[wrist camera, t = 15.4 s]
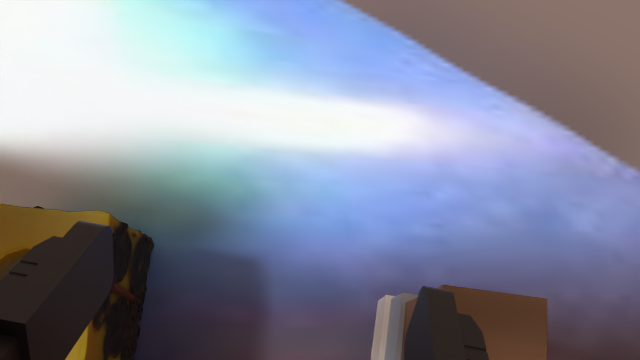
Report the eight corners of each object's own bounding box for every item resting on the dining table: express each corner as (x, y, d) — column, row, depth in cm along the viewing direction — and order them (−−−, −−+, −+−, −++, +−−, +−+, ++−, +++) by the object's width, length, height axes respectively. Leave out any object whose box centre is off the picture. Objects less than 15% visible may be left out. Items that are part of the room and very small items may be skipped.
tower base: (445, 392, 41) (463, 399, 36) (367, 379, 41) (375, 383, 36) (452, 313, 42) (470, 309, 38) (378, 300, 43) (386, 295, 38)
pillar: (475, 390, 31) (546, 409, 22) (399, 379, 31) (436, 394, 22) (478, 312, 33) (546, 298, 23) (405, 302, 33) (443, 285, 23)
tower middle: (462, 394, 36) (485, 401, 31) (381, 380, 36) (392, 386, 31) (468, 311, 38) (490, 306, 33) (391, 299, 38) (402, 292, 33)
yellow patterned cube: (35, 228, 44) (-42, 195, 34) (156, 236, 44) (113, 205, 34) (5, 357, 41) (-88, 360, 31) (135, 366, 41) (81, 372, 31)
